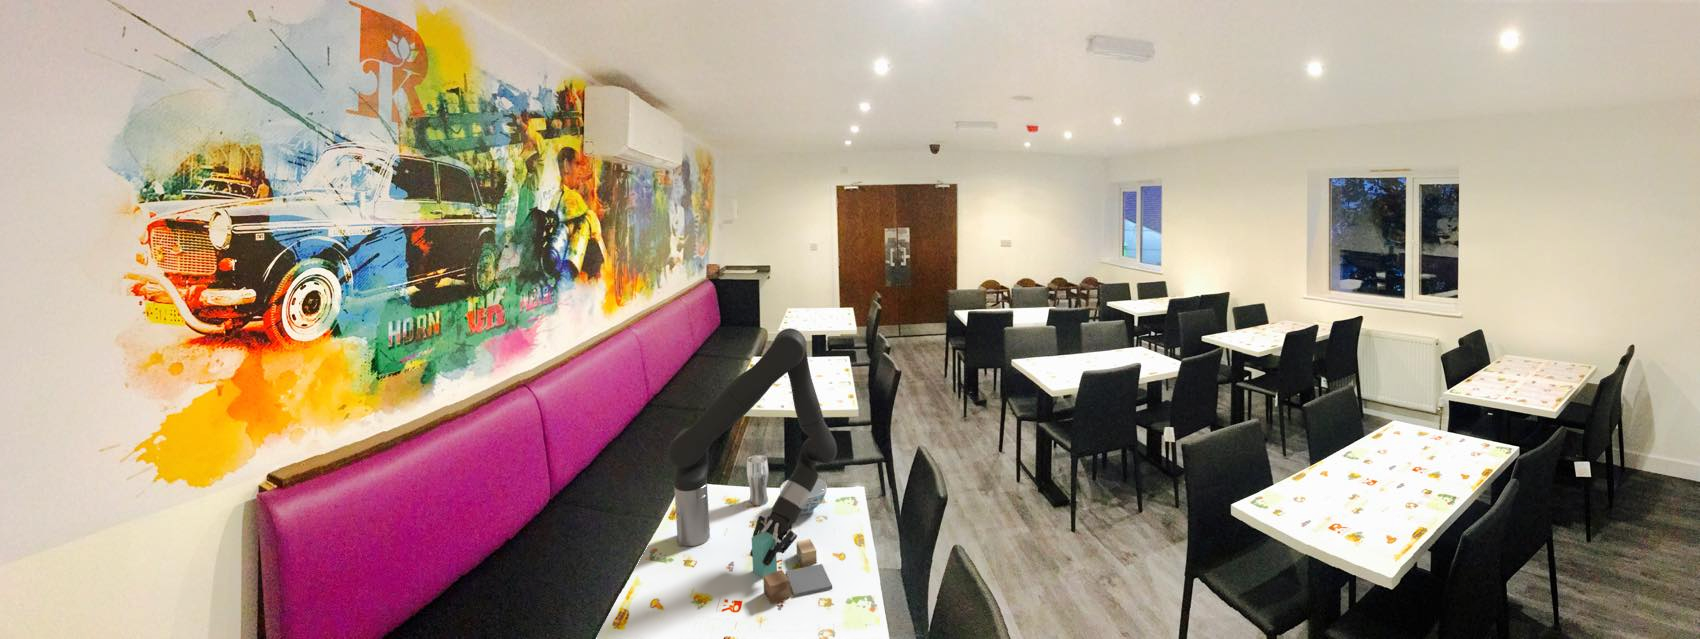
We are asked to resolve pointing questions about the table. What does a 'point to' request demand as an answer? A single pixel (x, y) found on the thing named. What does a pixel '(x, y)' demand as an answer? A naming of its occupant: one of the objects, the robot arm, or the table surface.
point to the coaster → (808, 580)
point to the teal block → (762, 554)
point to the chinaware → (813, 496)
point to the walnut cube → (776, 586)
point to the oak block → (806, 552)
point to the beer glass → (757, 479)
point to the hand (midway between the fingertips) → (759, 560)
